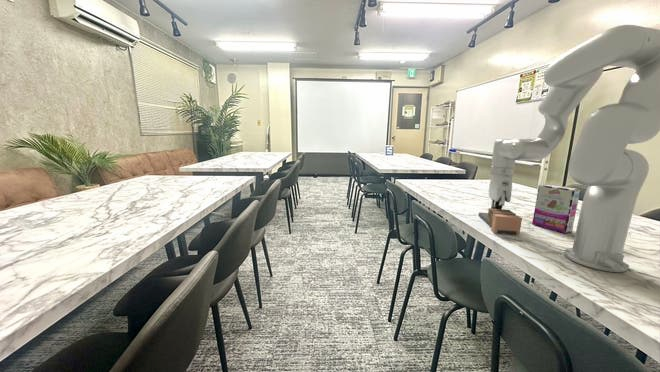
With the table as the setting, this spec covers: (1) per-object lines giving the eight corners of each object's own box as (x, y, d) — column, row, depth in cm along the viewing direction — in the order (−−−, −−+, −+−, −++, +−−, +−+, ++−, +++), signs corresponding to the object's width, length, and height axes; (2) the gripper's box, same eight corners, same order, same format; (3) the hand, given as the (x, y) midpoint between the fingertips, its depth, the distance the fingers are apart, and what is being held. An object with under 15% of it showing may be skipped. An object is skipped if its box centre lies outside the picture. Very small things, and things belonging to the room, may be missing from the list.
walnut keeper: (513, 227, 94) (516, 214, 93) (492, 225, 95) (494, 212, 94) (507, 222, 99) (509, 209, 98) (487, 220, 101) (488, 208, 100)
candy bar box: (572, 232, 95) (581, 188, 92) (565, 234, 93) (574, 190, 90) (538, 222, 105) (545, 183, 102) (531, 224, 103) (538, 184, 100)
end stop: (519, 235, 90) (522, 218, 89) (493, 233, 92) (496, 216, 91) (515, 232, 93) (518, 215, 92) (490, 230, 95) (493, 213, 94)
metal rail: (515, 235, 91) (516, 231, 90) (496, 233, 92) (497, 229, 92) (493, 216, 112) (494, 213, 111) (478, 215, 113) (478, 212, 113)
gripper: (521, 174, 91) (513, 223, 94) (505, 169, 105) (498, 212, 109) (498, 173, 93) (491, 221, 96) (484, 168, 107) (479, 210, 110)
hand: (495, 216), depth 102 cm, fingers closed
